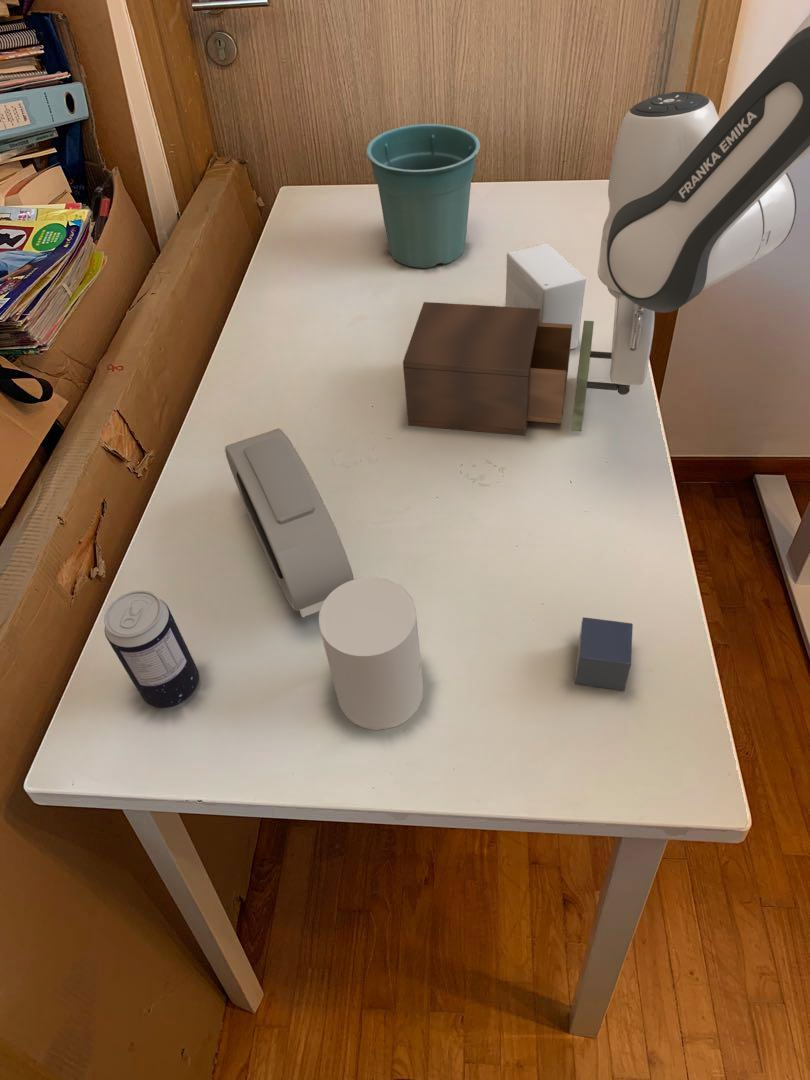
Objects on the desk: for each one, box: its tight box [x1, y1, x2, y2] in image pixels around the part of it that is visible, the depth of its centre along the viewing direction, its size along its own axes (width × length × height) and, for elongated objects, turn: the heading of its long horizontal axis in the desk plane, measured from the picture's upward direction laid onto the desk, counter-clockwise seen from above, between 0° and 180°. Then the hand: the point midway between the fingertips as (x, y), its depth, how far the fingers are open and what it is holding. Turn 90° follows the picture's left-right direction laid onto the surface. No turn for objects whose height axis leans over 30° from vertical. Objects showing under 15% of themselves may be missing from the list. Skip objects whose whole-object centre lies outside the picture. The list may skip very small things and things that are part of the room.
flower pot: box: [366, 123, 481, 269], centre depth 124 cm, size 16×16×16 cm
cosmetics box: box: [504, 242, 587, 350], centre depth 109 cm, size 10×6×10 cm, turn 22°
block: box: [574, 617, 634, 692], centre depth 75 cm, size 4×4×4 cm
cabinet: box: [402, 301, 540, 436], centre depth 101 cm, size 15×13×10 cm
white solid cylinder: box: [318, 576, 425, 731], centre depth 73 cm, size 8×8×12 cm
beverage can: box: [103, 590, 200, 709], centre depth 74 cm, size 6×6×12 cm
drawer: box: [527, 320, 631, 432], centre depth 99 cm, size 18×11×8 cm, turn 78°
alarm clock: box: [224, 428, 355, 619], centre depth 84 cm, size 23×6×13 cm, turn 24°
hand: (623, 367), depth 97 cm, fingers closed, pressing on drawer
